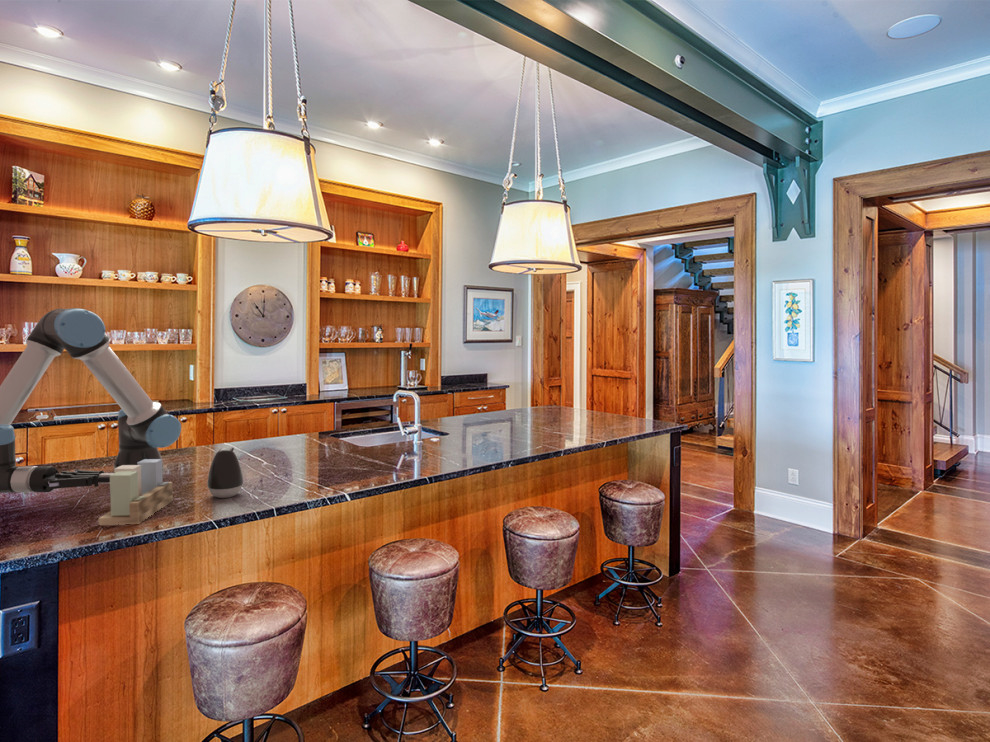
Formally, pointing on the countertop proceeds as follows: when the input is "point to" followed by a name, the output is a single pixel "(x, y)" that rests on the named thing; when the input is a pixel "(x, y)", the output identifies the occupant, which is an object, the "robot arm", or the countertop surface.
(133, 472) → the pale green tall block
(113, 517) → the wooden key holder base
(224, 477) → the pump dispenser
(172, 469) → the countertop surface
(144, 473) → the slate key
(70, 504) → the countertop surface
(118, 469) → the cream rectangular block
